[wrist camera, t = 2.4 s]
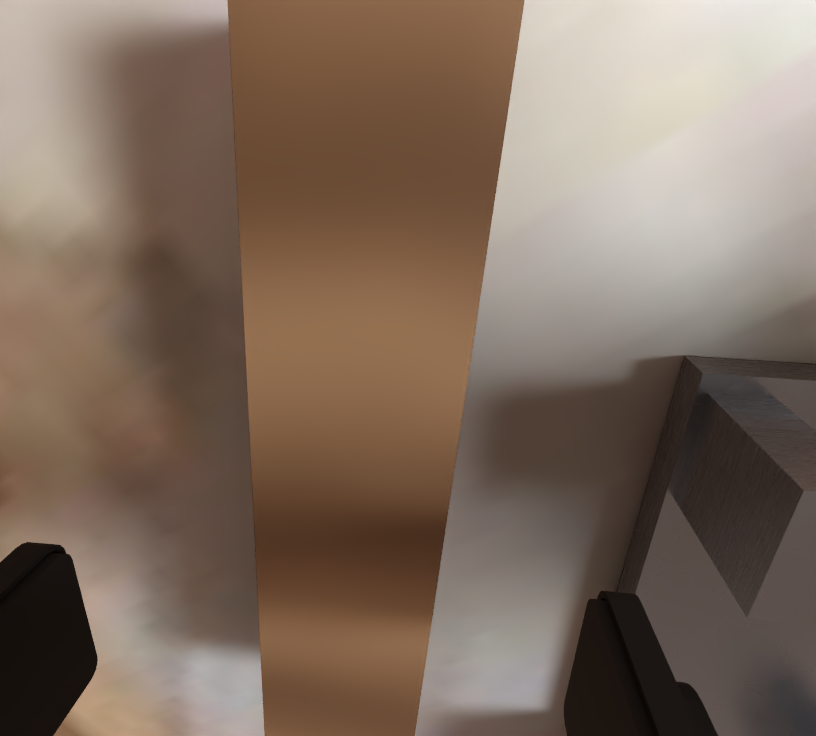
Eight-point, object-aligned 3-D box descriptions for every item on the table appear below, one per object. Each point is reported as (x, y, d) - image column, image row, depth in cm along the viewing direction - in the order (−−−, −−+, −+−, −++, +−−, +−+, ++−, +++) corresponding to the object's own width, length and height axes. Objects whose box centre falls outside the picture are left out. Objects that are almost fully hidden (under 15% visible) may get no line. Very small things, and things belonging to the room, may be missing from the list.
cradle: (684, 355, 12) (798, 464, 8) (1081, 381, 12) (1406, 510, 8) (566, 768, 20) (596, 935, 15) (812, 794, 19) (910, 973, 15)
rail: (303, 22, 11) (225, -37, 7) (499, 39, 10) (525, -11, 7) (302, 632, 18) (265, 758, 14) (416, 646, 18) (408, 777, 14)
